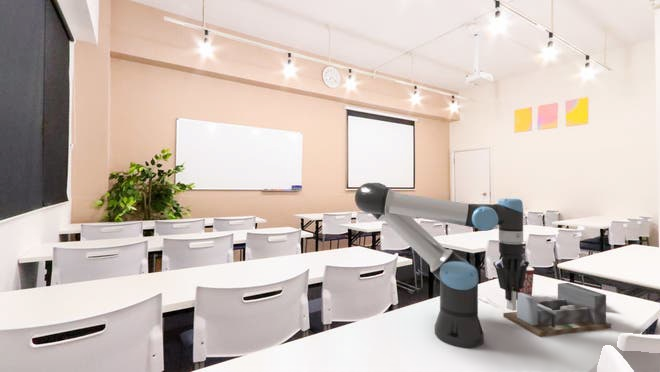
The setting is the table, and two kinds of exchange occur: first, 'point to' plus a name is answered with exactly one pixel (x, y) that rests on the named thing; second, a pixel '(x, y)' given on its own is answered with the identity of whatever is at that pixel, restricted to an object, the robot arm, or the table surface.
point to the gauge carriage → (531, 309)
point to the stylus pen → (489, 302)
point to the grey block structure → (568, 312)
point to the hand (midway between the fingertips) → (511, 309)
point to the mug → (528, 282)
